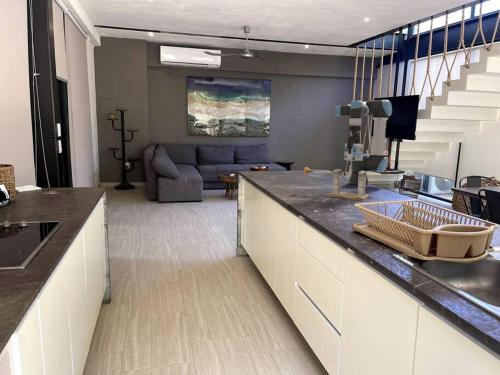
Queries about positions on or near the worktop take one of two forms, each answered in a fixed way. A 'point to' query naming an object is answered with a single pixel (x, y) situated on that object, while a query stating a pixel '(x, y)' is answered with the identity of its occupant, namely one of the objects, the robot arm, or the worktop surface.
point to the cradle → (345, 195)
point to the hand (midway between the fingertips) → (353, 158)
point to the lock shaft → (316, 171)
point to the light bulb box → (354, 152)
